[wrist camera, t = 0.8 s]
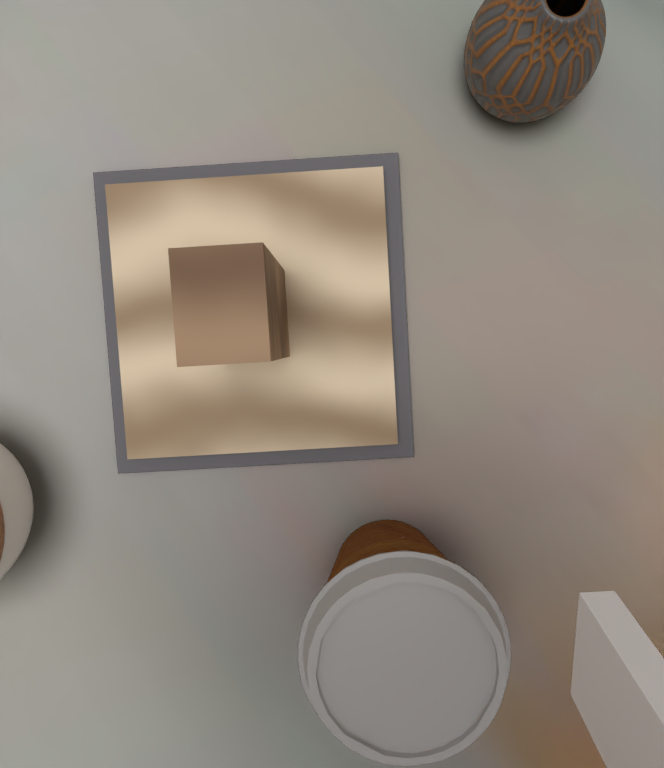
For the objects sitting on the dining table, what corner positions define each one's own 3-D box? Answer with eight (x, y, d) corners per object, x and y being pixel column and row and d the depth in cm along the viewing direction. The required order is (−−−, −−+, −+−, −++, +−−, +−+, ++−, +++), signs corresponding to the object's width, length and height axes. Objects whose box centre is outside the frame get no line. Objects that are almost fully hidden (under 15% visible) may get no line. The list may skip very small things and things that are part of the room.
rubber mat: (413, 455, 38) (413, 456, 38) (120, 472, 39) (117, 473, 38) (397, 154, 37) (397, 152, 37) (95, 174, 37) (93, 172, 37)
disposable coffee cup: (474, 504, 38) (534, 577, 26) (451, 653, 39) (501, 791, 27) (320, 483, 38) (310, 547, 26) (300, 633, 39) (282, 761, 27)
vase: (548, 153, 37) (612, 95, 28) (437, 115, 37) (467, 44, 28) (589, 39, 37) (667, -57, 28) (477, -1, 36) (520, -108, 28)
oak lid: (396, 441, 38) (418, 481, 27) (133, 456, 38) (48, 502, 27) (381, 171, 37) (399, 97, 26) (111, 188, 37) (14, 123, 26)
